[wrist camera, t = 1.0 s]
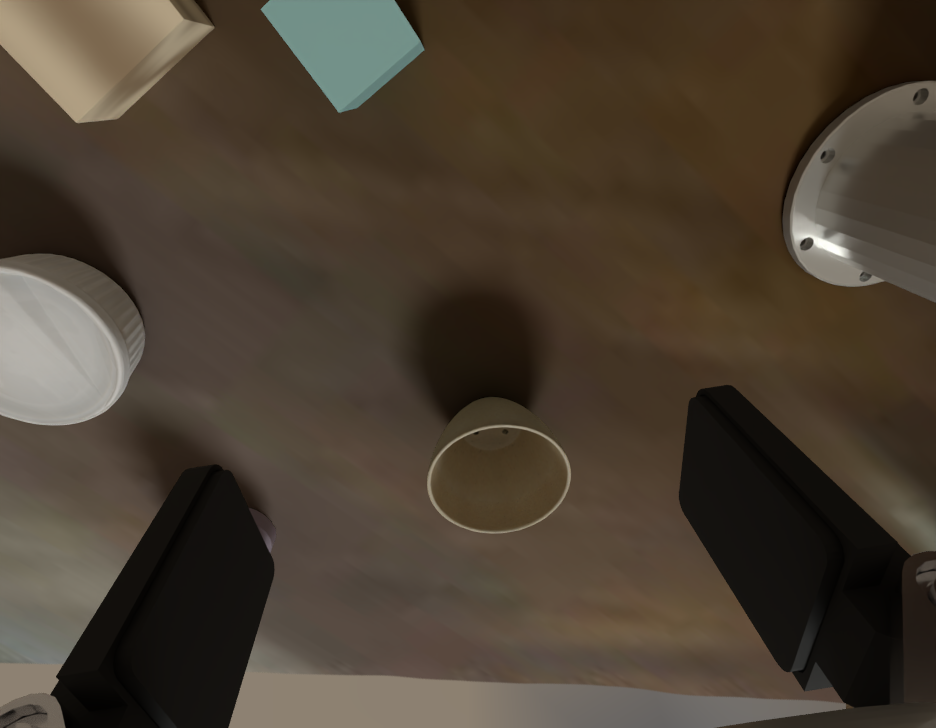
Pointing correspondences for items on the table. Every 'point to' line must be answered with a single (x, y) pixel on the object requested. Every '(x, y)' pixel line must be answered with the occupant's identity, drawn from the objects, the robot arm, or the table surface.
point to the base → (99, 48)
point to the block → (346, 44)
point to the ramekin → (63, 340)
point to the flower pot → (497, 468)
